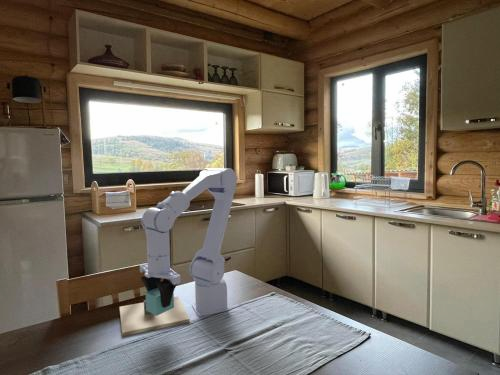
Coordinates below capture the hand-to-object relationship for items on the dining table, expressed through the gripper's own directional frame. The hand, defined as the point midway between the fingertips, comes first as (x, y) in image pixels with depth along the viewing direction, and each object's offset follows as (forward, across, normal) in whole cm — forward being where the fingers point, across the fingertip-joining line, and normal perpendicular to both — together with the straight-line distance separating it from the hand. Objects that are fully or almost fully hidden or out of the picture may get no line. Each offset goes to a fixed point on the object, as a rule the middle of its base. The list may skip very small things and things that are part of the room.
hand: (160, 303), depth 88 cm
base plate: (+8, -10, +4) cm, 14 cm away
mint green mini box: (+2, 0, 0) cm, 2 cm away
